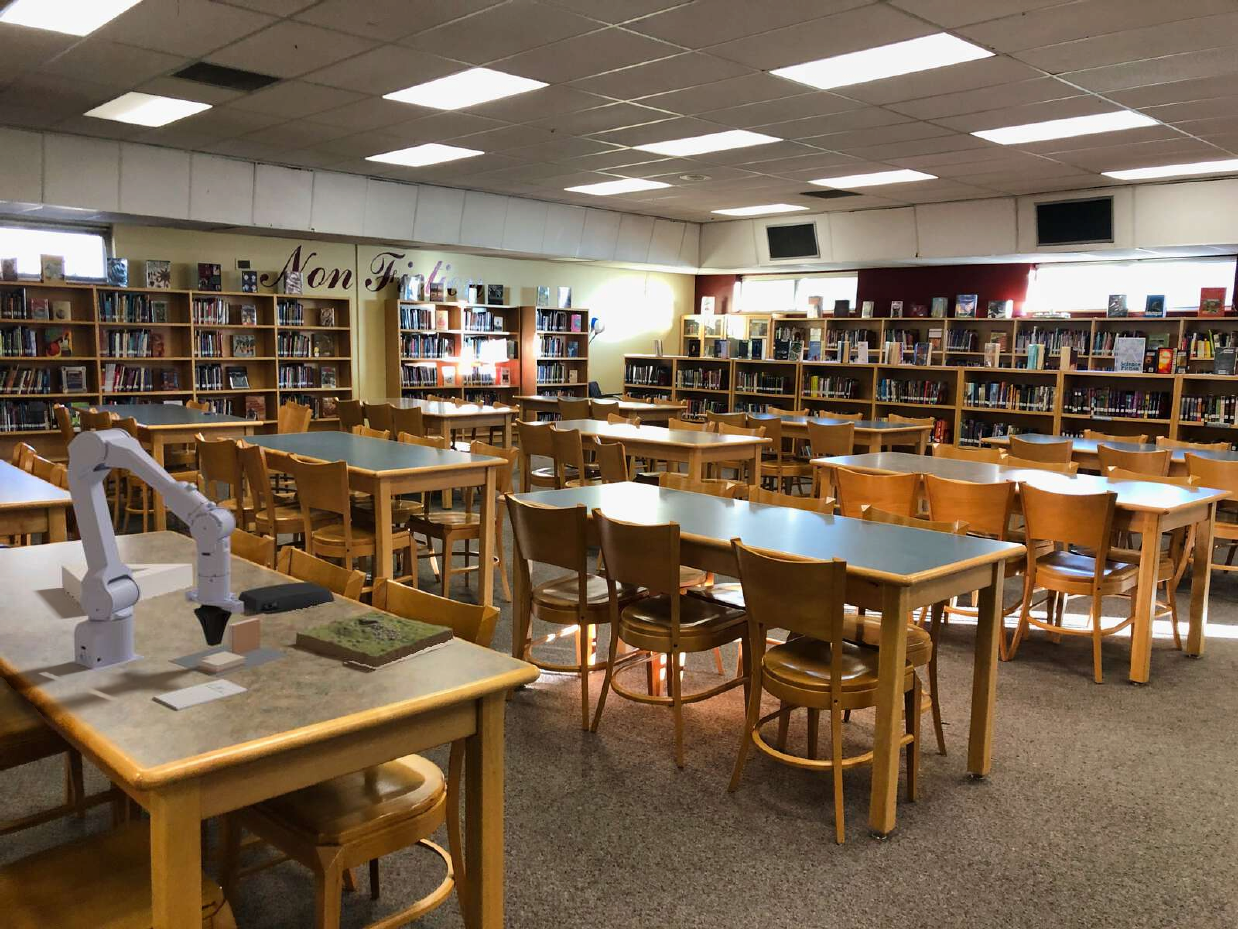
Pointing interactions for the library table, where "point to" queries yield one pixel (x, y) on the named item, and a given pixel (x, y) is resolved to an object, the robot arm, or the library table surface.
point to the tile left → (220, 662)
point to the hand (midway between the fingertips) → (214, 644)
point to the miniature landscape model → (373, 638)
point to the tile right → (244, 636)
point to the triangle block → (136, 578)
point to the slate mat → (250, 657)
